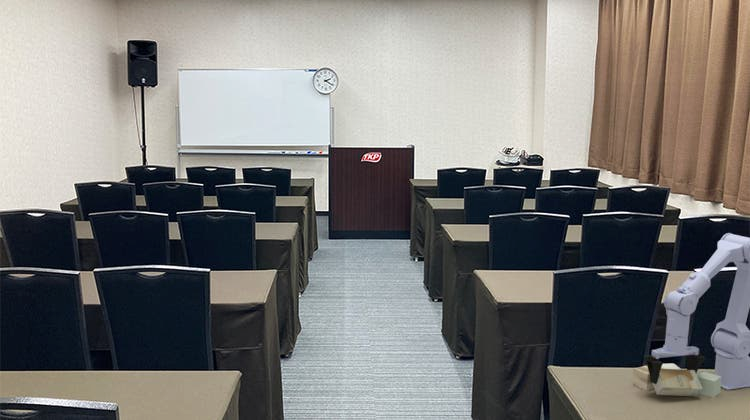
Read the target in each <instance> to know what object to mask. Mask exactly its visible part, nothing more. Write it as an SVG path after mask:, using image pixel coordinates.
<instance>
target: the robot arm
mask: <svg viewBox="0 0 750 420" xmlns="http://www.w3.org/2000/svg"><path fill="white" fill-rule="evenodd" d="M716 246H717V247H716V248H717V249H716V250H715V252H714V253H713V254H712V255H711V257H710V258H709V260H707V262H706V263H705V264H704V266H703V267H702V269H700V271H695V272H692V273H690V274H688V275H689V276H688V277H687V278H686V280H685V281H684V282H683V283H682V284H681V285H679V287H678V288H677V289H676V290H673V291H671V292H668V294H666V296H665V299H664V300H663V305H664V307H665V311H666V312H665V313H666V314H665V315H666V316H667V318H666V328H665V339H664V341H665V342H664V344H663V347H660V348H656V349H652V350H651V355H650V354H647V355H646V354H645V355H643V360H644V362H645V364H646V366H647V367H648V370H649V374H650V380H651V382H652V383H654V384H656V383H657V381H658V377H659V373H660V369H661V367H662V365H663V364H664V363H663V362H662V361H660V358H671V357H681V356H683V357H684V356H685V358H686V370H695V372H696V374H698V371H699V369H700V367H701V365H703V363H704V362H705V360H706V356H704V355H702V354H703V353H702V352H700V348H698V347H697V346H693V345H692V346H688V340H689V339H688V337H689V331H690V321H691V315H692V314H693V313H694V312H695V311H696V309H697V305H698V303H699V299H700V298H701V297H702V296H703V295H704V294H705V292H707V291H708V289H710V287H711V279H712V278H714V277H715V276H716V275H717V274H718V273H719V272H720V271H722V270H723V269H724V268H725V267H726V266H727V265H728V264H729V263H734V265H735V266H736V272H735V277H734V281H733V285H732V289H731V294H730V298H729V302H728V306H727V309H726V310H727V311H726V315H725V318H724V319H723V320H722V321H720V322H718V323H716V326H715V329H714V331H713V333H711V336H710V345H711V346H712V347H713V348H714V352H715V353H716V354H715V366H714V375H718V376H721V388H723V389H725V390H727V391H729V390H736V389H742V388H748V387H749V388H750V356H749V354H750V329H749V328H748V326H747V325H746V323H747V319H748V315H749V312H750V237H748V236H742V235H738V234H733V233H731V232H728V233H727V232H726V233H725V234H723V236H722V237H721V238H720V240H718V241H717V244H716Z"/></svg>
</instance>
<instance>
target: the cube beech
mask: <svg viewBox="0 0 750 420" xmlns="http://www.w3.org/2000/svg"><path fill="white" fill-rule="evenodd" d="M633 384H635V385H637V386H639V387H638V388H640V387H641V388H640V389H642V388H643V389H642V390H644V389H646V390H647V391H650V390H649V389H651V390H655V389H654V386H653V384H652V382H651V380H650V374H649V370H648V367H647V365H643V366H639V367H634V368H633V377H632V385H633ZM635 385H634V386H635ZM637 386H636V387H637ZM646 390H645V391H646Z"/></svg>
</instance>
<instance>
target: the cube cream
mask: <svg viewBox="0 0 750 420" xmlns="http://www.w3.org/2000/svg"><path fill="white" fill-rule="evenodd" d="M661 369H680V370H683V369H681V368H680V366H678V365H676V364H675V363H663V365H662V367H661Z"/></svg>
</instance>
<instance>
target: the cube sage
mask: <svg viewBox="0 0 750 420" xmlns="http://www.w3.org/2000/svg"><path fill="white" fill-rule="evenodd" d="M696 375H697V377H698V379H699V381H700V384H701V386H702V390H701V391H700V392H699V393H698V394H697V395H701V396H705V397H709V398H712V399H714V398H716V396H718V395H720V394H721V388H722V387H721V376H718V375H715V373H714V374H713V373H711V372H710V373H709V372H706V371H702V372H701V373H699V374H696Z"/></svg>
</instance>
